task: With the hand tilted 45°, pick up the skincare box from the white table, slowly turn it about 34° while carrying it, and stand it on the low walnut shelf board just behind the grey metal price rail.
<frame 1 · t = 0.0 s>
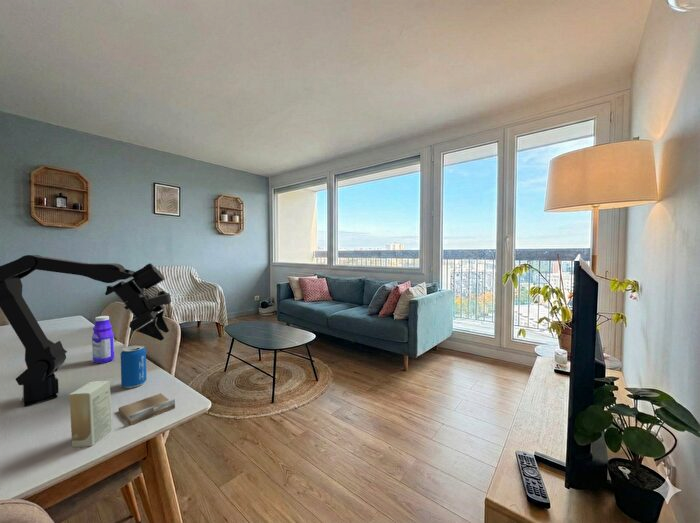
hand: (165, 335, 95), 15 cm above the table, tool tilted 35°, fingers open, 9 cm apart
beverage can: (134, 385, 92), on the table
bottle: (103, 361, 112), on the table
shelf board: (147, 409, 78), on the table
skincare box: (92, 439, 66), on the table
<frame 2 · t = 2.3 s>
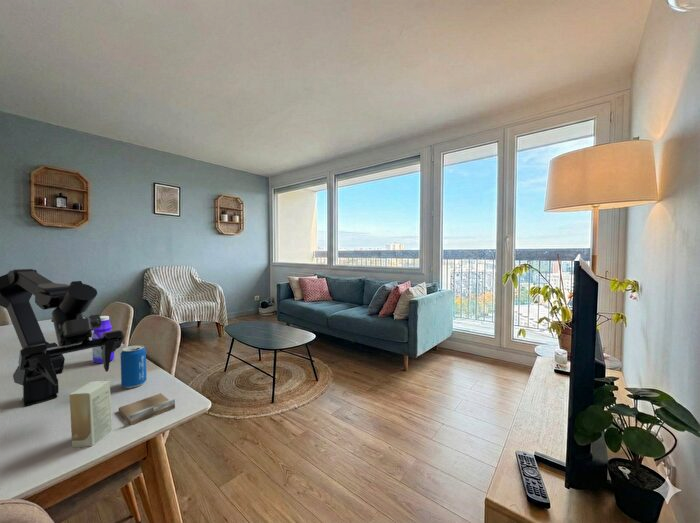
hand: (83, 377, 69), 13 cm above the table, tool tilted 45°, fingers open, 9 cm apart
nothing on the table moved.
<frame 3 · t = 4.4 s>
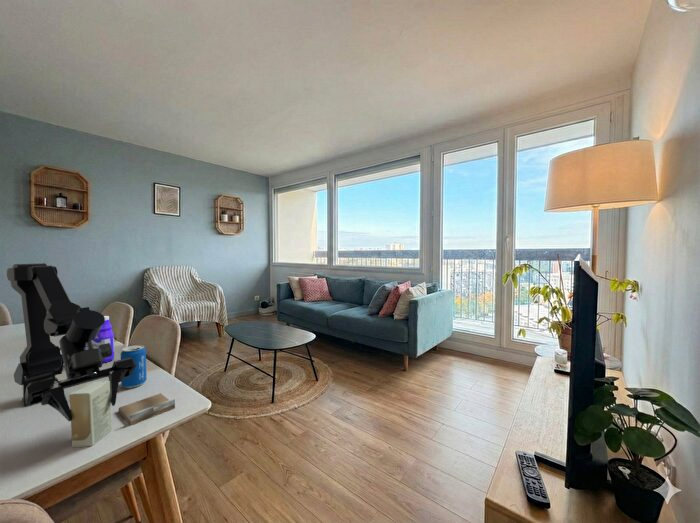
hand: (93, 412, 65), 7 cm above the table, tool tilted 45°, fingers closed on skincare box, 7 cm apart
skincare box: (92, 439, 66), on the table, touching gripper
everything else where it was.
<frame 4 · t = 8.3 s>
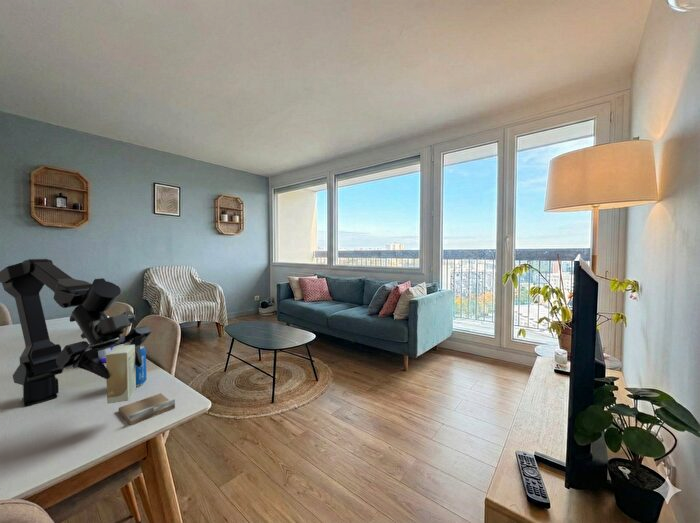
hand: (125, 371, 71), 13 cm above the table, tool tilted 45°, fingers closed on skincare box, 7 cm apart
skincare box: (122, 397, 72), point 6 cm above the table, touching gripper
everything else where it was.
when the fingers open (9 cm above the table, at t = 12.1 s): skincare box drops 1 cm, resting on shelf board.
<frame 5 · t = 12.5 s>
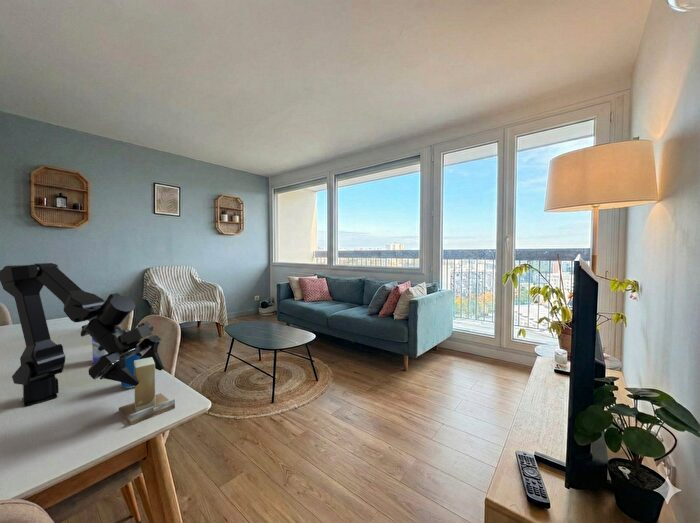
hand: (150, 376, 78), 9 cm above the table, tool tilted 45°, fingers open, 9 cm apart
skincare box: (145, 406, 78), point 1 cm above the table, touching shelf board
everything else where it was.
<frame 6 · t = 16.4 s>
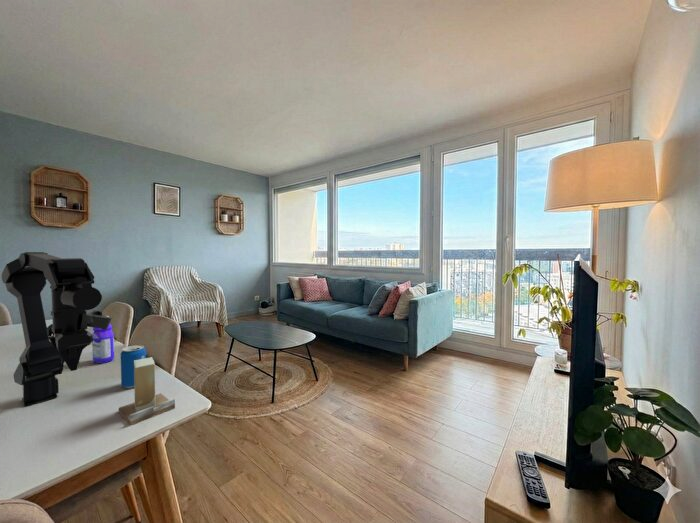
hand: (70, 365, 75), 13 cm above the table, tool pointing down, fingers open, 9 cm apart
nothing on the table moved.
at the end: skincare box inside the target area on the shelf board (0.3 cm from its centre), point 0.8 cm above the shelf board's base; skincare box tilted 0°; the gripper is holding nothing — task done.
